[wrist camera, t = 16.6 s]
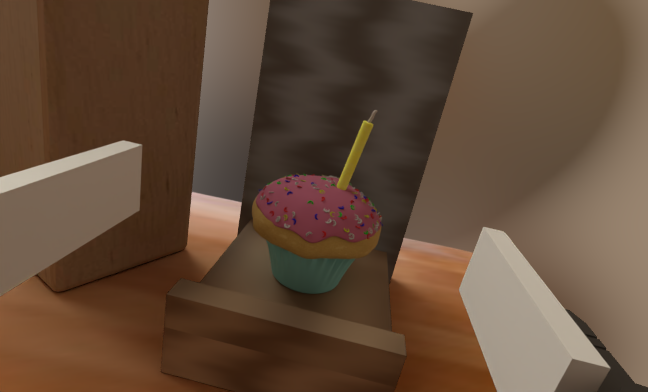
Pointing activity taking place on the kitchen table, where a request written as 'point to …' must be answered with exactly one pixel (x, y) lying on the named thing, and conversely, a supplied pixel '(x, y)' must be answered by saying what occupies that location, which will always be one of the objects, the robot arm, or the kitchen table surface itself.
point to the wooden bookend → (321, 159)
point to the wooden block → (106, 110)
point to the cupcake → (317, 224)
